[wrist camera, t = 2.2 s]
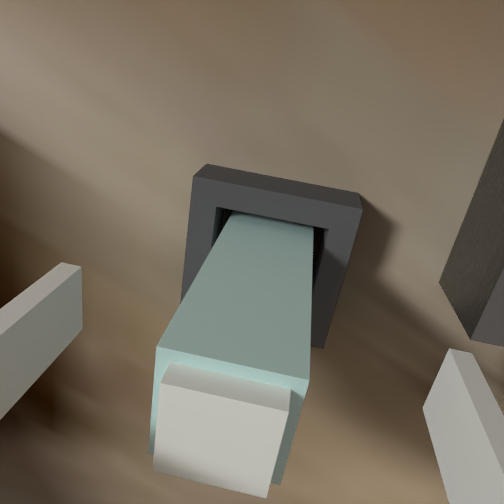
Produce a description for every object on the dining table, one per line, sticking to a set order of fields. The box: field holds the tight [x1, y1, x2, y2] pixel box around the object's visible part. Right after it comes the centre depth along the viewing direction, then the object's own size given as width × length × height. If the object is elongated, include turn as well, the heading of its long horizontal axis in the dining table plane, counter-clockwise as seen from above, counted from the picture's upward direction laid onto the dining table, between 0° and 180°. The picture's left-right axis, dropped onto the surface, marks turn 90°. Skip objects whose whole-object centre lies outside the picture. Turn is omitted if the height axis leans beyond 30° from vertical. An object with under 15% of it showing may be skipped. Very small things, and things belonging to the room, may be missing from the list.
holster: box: [180, 164, 363, 349], centre depth 21 cm, size 8×8×2 cm
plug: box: [148, 210, 314, 498], centre depth 17 cm, size 4×4×13 cm
